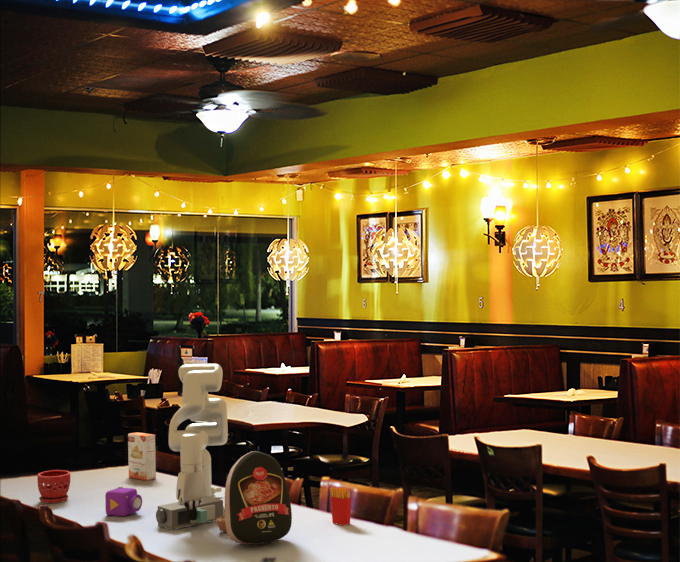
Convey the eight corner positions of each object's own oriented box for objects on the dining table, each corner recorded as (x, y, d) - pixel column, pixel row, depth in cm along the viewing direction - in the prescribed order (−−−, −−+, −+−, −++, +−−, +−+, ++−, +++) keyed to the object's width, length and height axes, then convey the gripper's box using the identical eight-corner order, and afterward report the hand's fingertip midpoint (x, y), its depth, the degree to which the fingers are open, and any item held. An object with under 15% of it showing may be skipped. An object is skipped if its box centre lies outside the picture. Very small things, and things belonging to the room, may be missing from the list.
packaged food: (234, 554, 274) (233, 460, 275) (218, 539, 292) (216, 451, 293) (298, 545, 283) (296, 454, 284) (279, 531, 301) (277, 445, 302)
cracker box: (127, 477, 407) (127, 433, 407) (138, 475, 411) (137, 431, 412) (145, 480, 397) (145, 435, 398) (156, 478, 402) (155, 434, 403)
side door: (213, 518, 318) (213, 504, 318) (222, 520, 313) (222, 507, 313) (190, 523, 311) (189, 509, 311) (199, 526, 306) (199, 511, 307)
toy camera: (135, 518, 326) (135, 491, 326) (102, 517, 329) (102, 490, 329) (147, 511, 337) (147, 485, 337) (115, 510, 339) (115, 485, 340)
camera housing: (208, 514, 329) (208, 496, 329) (224, 519, 321) (223, 500, 321) (154, 526, 313) (153, 506, 313) (168, 531, 305) (168, 511, 305)
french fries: (353, 524, 309) (353, 487, 310) (345, 526, 306) (345, 489, 307) (335, 520, 316) (334, 484, 316) (327, 522, 312) (326, 486, 313)
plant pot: (30, 503, 354) (30, 474, 355) (52, 497, 367) (52, 469, 367) (56, 506, 349) (55, 476, 350) (77, 499, 362) (77, 470, 362)
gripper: (203, 464, 316) (204, 514, 315) (167, 469, 306) (168, 521, 305) (214, 466, 310) (215, 517, 310) (178, 472, 300) (179, 525, 300)
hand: (192, 519), depth 307 cm, fingers closed
